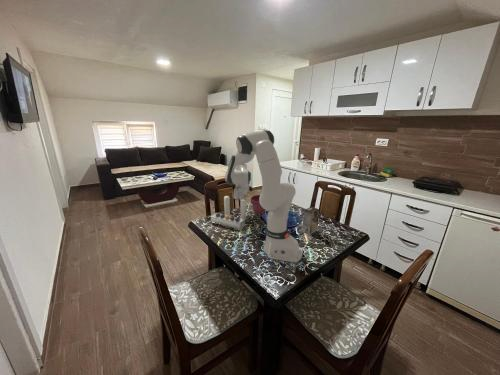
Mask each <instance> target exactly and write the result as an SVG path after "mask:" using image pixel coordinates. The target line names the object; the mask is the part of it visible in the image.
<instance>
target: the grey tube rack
mask: <svg viewBox="0 0 500 375" xmlns="http://www.w3.org/2000/svg"><path fill="white" fill-rule="evenodd" d="M211 221H213V222H216V223H220V224H223V225H226V226H230V227H233V228H235V229H234V230H236V229H239V230H238V231H240V230H241V229H242V228H243V227H244V226H245V225H246V224H245V223H246V221H245V219H241V217H239V216H236V217H235V216H234V215H232V216H231V214H230V215H225V213H220V212H215V213H214V214H213V215H211V216H210V222H211ZM245 227H246V226H245ZM245 227H244V228H245ZM244 228H243V229H244ZM241 231H242V230H241Z"/></svg>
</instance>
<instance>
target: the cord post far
mask: <svg viewBox="0 0 500 375" xmlns="http://www.w3.org/2000/svg"><path fill="white" fill-rule="evenodd" d="M230 202H231V201H230V196H229V195H225V196H224V197H223V204H224V209H223V210H224V214H225V215H230V216H231V211H230V210H231V208H230V206H231V205H230V204H231V203H230Z"/></svg>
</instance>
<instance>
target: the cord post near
mask: <svg viewBox="0 0 500 375" xmlns="http://www.w3.org/2000/svg"><path fill="white" fill-rule="evenodd" d="M239 201H240V202H239V203H240V204H239V205H240V218H241V219H245V220H246V221H247V200H246V199H245V198H243V199H241V200H240V199H239Z"/></svg>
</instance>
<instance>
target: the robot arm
mask: <svg viewBox="0 0 500 375" xmlns="http://www.w3.org/2000/svg"><path fill="white" fill-rule="evenodd" d="M274 144H275V135H274V134H273V132H271V130H268V129H267V130H265V129H264V130H260V131H259V130H258V131H251V132H246V133H243V134H241V135H239V136H237V137H236V140H235V146H236V149H237V151H236V152H235V153H234V154H232V155H231V158H230V161H229V165H228V167H227V170H226V172H225V176H224V178H225V179H224V180H225V183H226V184H228V185H231V186H233V185H235V188H234V189H233V193H232V195H233V196H232V197H233V199H235V200H239V201H240V200H241V199H245V198H244V197H245V195H246V194H248V193H249V191H250V183H251V180H252V179H251V178H252V173H251V172H250V171H249V170H248V168H247V163H249V162H251V161H252V160H254V157H256V162H257V165H258V168H259V173H260V175H261V183H262V184H261V193H260V194H259V195H260V198H259V202H260V205H261V206H262V208H264V209H265V210H266V211H268V213H267V215H266V228H265V241H264V244H263V248H262V249H263V252H264V253H265V254H266V255H267V257H268V259H270V260H271V259H272V260H277V261H283V262H289V263H290V262H291V263H298V262H299V261H300V260H301V259H302V257H303V252H304V251H303V248H302V247H301V246H300V244H299V241H298V240H297V239H296V238H294V237H293V235H291V229H288V227H287V226H288V217H289V211H290V209H291V206H292V202H293V200H294V197H295V195H296V194H297V192H296V188H295V186H294V184H292V183H289V182H282V183H281V177H282V174H283V170H282V166H281V163H280V160H279V156H278V152H277V150H276V148H275V146H274Z"/></svg>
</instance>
